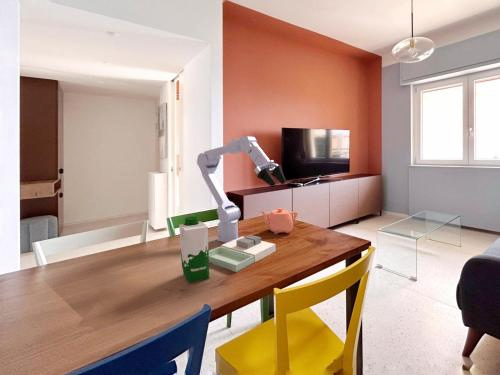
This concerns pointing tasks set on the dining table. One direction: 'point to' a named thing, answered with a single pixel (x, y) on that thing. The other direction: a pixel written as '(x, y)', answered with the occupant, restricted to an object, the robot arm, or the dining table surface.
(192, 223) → the milk carton
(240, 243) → the tile
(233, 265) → the box
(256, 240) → the tile
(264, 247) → the board
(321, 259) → the dining table surface
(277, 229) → the teapot
